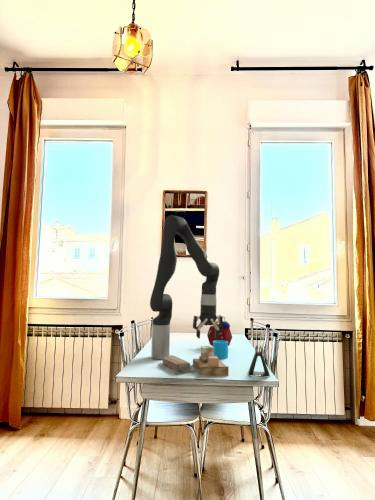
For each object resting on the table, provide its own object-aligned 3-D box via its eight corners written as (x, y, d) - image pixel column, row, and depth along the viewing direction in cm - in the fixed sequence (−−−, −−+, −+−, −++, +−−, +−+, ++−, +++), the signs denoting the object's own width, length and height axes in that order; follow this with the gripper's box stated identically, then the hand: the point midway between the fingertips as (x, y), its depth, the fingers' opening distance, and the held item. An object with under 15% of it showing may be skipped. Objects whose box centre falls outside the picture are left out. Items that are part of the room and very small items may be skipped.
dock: (201, 376, 144) (201, 367, 144) (192, 365, 162) (192, 357, 163) (228, 375, 146) (228, 366, 146) (216, 364, 164) (216, 356, 165)
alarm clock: (232, 349, 201) (232, 315, 202) (223, 351, 194) (223, 316, 196) (213, 345, 211) (213, 313, 213) (204, 347, 204) (204, 314, 206)
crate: (209, 367, 146) (209, 358, 146) (207, 365, 150) (207, 356, 150) (218, 367, 147) (218, 358, 147) (216, 365, 151) (216, 356, 151)
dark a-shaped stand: (268, 373, 150) (268, 345, 151) (269, 376, 144) (269, 348, 146) (248, 371, 152) (248, 344, 153) (248, 375, 146) (248, 347, 147)
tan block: (203, 363, 154) (203, 348, 155) (199, 359, 162) (199, 345, 163) (215, 362, 155) (215, 348, 156) (211, 358, 163) (211, 345, 164)
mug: (226, 359, 175) (226, 343, 176) (211, 358, 178) (211, 342, 178) (230, 354, 187) (230, 339, 188) (215, 353, 189) (215, 338, 190)
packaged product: (194, 361, 151) (174, 364, 146) (194, 372, 150) (174, 375, 146) (176, 353, 166) (158, 355, 162) (176, 363, 166) (157, 366, 161)
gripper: (195, 304, 156) (194, 339, 155) (225, 304, 159) (224, 339, 157) (192, 302, 163) (191, 336, 162) (220, 303, 166) (219, 336, 165)
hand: (207, 338), depth 160 cm, fingers open, 8 cm apart
